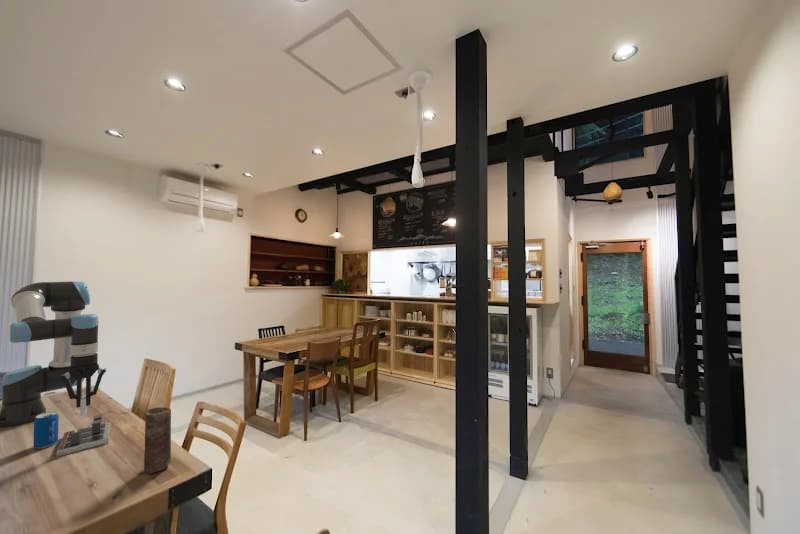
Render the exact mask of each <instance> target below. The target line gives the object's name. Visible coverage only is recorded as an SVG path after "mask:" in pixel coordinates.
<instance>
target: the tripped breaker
mask: <svg viewBox="0 0 800 534" xmlns="http://www.w3.org/2000/svg"><path fill="white" fill-rule="evenodd" d="M81 429H82V428H77V429H75V430H73V429H72V430H71V431H72V432H71V444H70V445H72V444H76V443H80V439H81Z"/></svg>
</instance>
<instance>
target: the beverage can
mask: <svg viewBox="0 0 800 534" xmlns="http://www.w3.org/2000/svg"><path fill="white" fill-rule="evenodd" d="M59 417H60V415H59V414H58V411H55V410H54V411H46V413H43V414H40V415H37V416H36V419H35V420H33V448H35V449H45V448H49V447H52V446H53V445H55V444H56V443H57V442H58V441H59V419H60V418H59Z"/></svg>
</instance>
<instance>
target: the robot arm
mask: <svg viewBox="0 0 800 534" xmlns="http://www.w3.org/2000/svg"><path fill="white" fill-rule="evenodd" d="M90 296H91V295H90V292H89V287H88V284H87V283H86V282H85V281H42V282H41V281H40V282H34V283H31V284H27V285H25V286H23V287H21V288H19V289H18V290H16V291H15V292H14V293H13V295H12V296H11V298H10V303H11V304H10V305H11V306H12V307H13V309H14V310H15V316H16V322H13V323H11V324H10V325H9V342H11V343H12V344H15V343H16V344H18V343H29V342H35V341H37V342H38V341H45V340H54V341H53V359H52V360H51V361H49V363H48V366H47V367H43V366H42V365H40V364H35V365H28V366H26V367H21V368H18V369H14V370H11V371H9V372H7V373H5V374H4V375H3V377H2V383H1V386H2V392H1V395H2V396H1V407H0V427H2V428H3V426H5V427H11V426H18V425H23V424H26V423H30V422H32V421H33V422H34V420H35V419H36V416H37V415H40V414H43V413H47V408H46V406H45V404H44V402H43V400H42V393H47V392H53V391H56V390H62V389H66V391H67V392H66V393H67V394H68V396H69V397H68V398H69V399H70V400H76V403H75V404H76V408H80V410H79V411H80V412H79V413H80V414H79V415H80V416H79V417H85V416H87V406H90V405H91V402H92V401H91V397H93V396H95V395H97V393H98V390H99V387H100V384H101V380H102V379H103V375H104V374H105V373H106V372H107V368H106V367H104V368H103V367H100V365H99V363H98V362H99V360H98V357H99V356H98V350H99V340H98V339H99V338H98V337H99V323H100V322H99V316H98V314H95V313H87V314H86V313H85V314H81V312H83V311H84V310H85V309H86V306H88V305H90V304H91V297H90ZM48 307H49V308H50V310H51V312H53V313H55V315H54V317H55V318H54V319H47V318H46V314H45V310H44V308H48ZM96 372H97V374H98V376H97V379H96V381H95V385H94V388H93V391H92V377H93V376H94V374H95V373H96ZM84 381H85V396H83V394H82V393H83V390H82V389H83V382H84ZM73 387H76V393H75V391H74V388H73Z"/></svg>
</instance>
